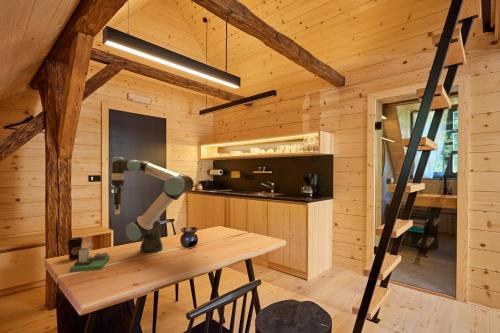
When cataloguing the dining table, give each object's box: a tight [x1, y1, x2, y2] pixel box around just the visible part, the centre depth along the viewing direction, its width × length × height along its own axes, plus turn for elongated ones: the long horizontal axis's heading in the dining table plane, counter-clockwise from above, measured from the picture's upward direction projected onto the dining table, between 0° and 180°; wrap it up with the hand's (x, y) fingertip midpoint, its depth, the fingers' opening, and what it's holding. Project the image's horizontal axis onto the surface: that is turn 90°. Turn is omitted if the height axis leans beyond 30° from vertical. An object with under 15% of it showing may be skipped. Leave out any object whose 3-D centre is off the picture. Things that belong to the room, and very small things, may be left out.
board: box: [69, 252, 110, 273], centre depth 159 cm, size 16×18×5 cm
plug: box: [78, 247, 90, 263], centre depth 156 cm, size 4×4×8 cm
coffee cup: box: [66, 236, 84, 261], centre depth 170 cm, size 9×8×13 cm
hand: (117, 214), depth 183 cm, fingers closed
